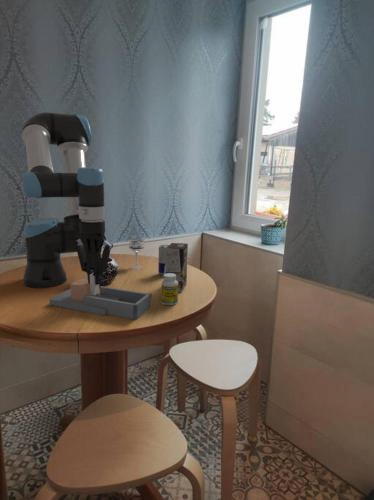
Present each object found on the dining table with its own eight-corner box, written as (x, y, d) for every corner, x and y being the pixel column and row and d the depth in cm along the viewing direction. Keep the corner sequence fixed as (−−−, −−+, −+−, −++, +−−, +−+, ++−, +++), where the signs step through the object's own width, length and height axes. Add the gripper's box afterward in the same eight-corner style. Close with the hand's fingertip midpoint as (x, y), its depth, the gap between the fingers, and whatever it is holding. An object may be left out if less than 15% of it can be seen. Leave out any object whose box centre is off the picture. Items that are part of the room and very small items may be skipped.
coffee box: (182, 292, 126) (183, 248, 122) (164, 291, 127) (165, 247, 123) (187, 284, 134) (188, 243, 130) (170, 283, 136) (171, 242, 132)
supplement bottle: (176, 299, 120) (176, 271, 118) (179, 305, 115) (179, 277, 113) (160, 299, 119) (160, 272, 116) (162, 306, 114) (163, 277, 111)
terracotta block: (71, 298, 112) (70, 283, 111) (82, 292, 118) (81, 278, 117) (87, 301, 110) (86, 286, 109) (97, 295, 116) (97, 280, 115)
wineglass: (136, 264, 159) (136, 238, 156) (147, 267, 155) (147, 240, 152) (125, 267, 153) (125, 240, 150) (136, 270, 150) (136, 243, 147)
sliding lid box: (49, 305, 112) (48, 291, 111) (73, 292, 123) (72, 280, 122) (134, 321, 102) (134, 306, 101) (152, 306, 114) (152, 292, 112)
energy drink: (158, 272, 148) (158, 244, 145) (171, 272, 149) (171, 244, 146) (158, 276, 143) (158, 247, 140) (171, 276, 143) (172, 247, 140)
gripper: (66, 220, 105) (70, 294, 111) (104, 223, 101) (106, 300, 107) (81, 216, 112) (84, 286, 118) (117, 219, 108) (118, 292, 114)
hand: (94, 293), depth 113 cm, fingers closed
